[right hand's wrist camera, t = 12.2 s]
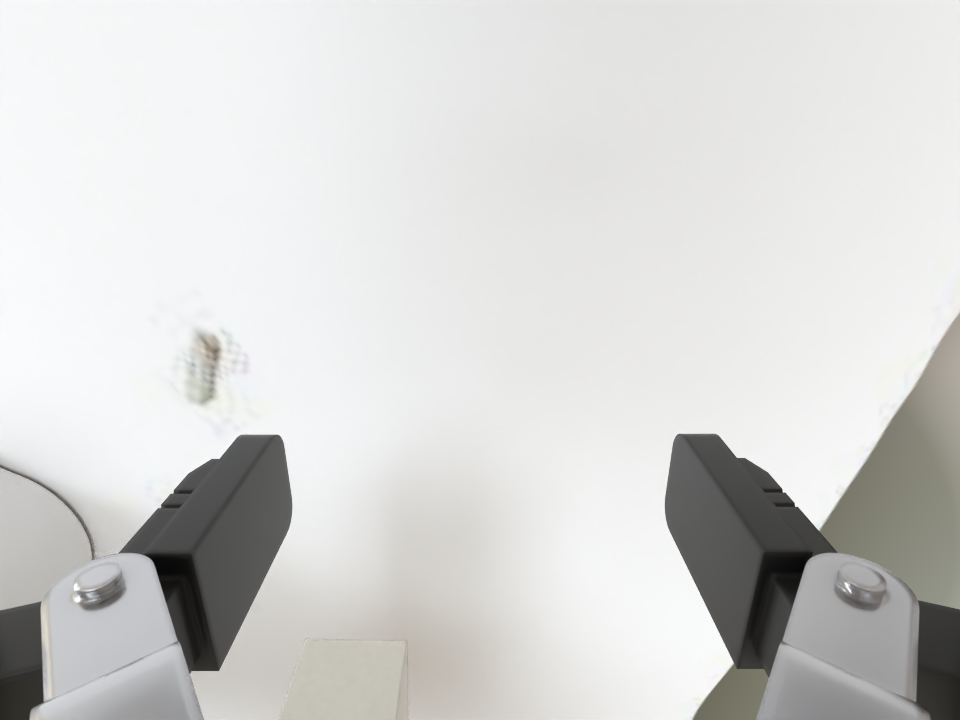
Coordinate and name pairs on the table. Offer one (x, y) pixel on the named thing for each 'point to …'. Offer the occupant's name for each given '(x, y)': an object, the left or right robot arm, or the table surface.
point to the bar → (349, 681)
